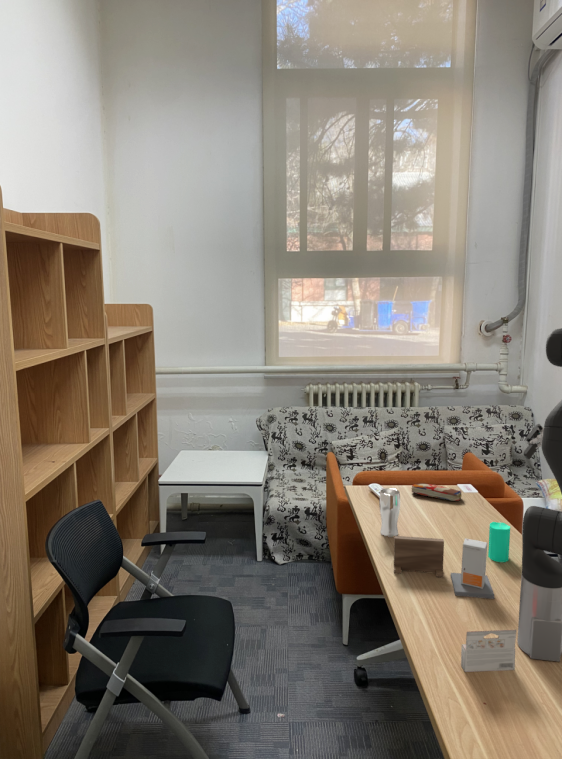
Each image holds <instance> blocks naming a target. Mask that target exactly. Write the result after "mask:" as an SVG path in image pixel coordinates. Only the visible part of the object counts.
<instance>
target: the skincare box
mask: <svg viewBox="0 0 562 759" xmlns="http://www.w3.org/2000/svg"><path fill="white" fill-rule="evenodd" d="M463 540H464V541H463V544H462V552H461V553H462V556H461V584H465V585H469V586H473V587H477V588H481V589H483V587H484V583H485V575H486V573H487V572H486V571H487V570H486V569H487V557H488V554H487V552H488V542H486V541H481V540H477V539H470V538H466V537H465V538H464V539H463Z"/></svg>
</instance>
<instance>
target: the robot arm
mask: <svg viewBox="0 0 562 759" xmlns="http://www.w3.org/2000/svg"><path fill="white" fill-rule="evenodd" d="M545 354H546V358H547V360H548V362H549V363H550V364H551V365H553V366H554V367H560V368H562V328H557V329H553V330H551V331H550V333H549V334H548V336H547V338H546V342H545ZM525 441H526V442H527V443H528V445H527V446H526V448H525V450H524V451H523V456H524V458H526V459H527V460H530V459H531V458H532V457H533V455H534V454H535V453H536V451H537V450H538V448H540V447H541V451H542V454H543V457H544V459H545V461H546V463H547V465H548V467H549V469H550V470H551V472H552V474H553V476H554V479H555V480H556V483H557V486H558V488H559V491H560V493H561V495H562V399H560V401H559V402H558V403H557V404H556V406H554V408H552V409H551V411H550V412H549V413H548V415H547V416H546V418H545V421H544V426H542V425H541V424H540V423H537V424H536V425H535V426H534V427H533V428H532V429H531V431H529V433H528V434H527V436H526V437H525ZM521 527H522V529H521V532H522V533H521V536H522V538H521V539H522V540H521V541H522V543H521V544H522V550H521V551H522V554H521V556H522V557H521V577H520V578H521V579H520V591H519V608H518V610H519V611H518V624H517V625H518V626H517V627H518V628H517V639H516V640H517V646H518V648H520V649H521V650H522V651H523V652H524V653H525V654H527V655H528V656H529V657H530V659H533V660H542V661H550V662H553V661H554V662H561V657H562V563H560V562H559V561H558V560H556V559H554V558H553V557H551V556H550V555H549V554H547V553H552V554H554V555H555V554H556V555H560V556H562V511H561V510H557V509H551V508H548V507H541V506H536V505H530V506H528V507H527V509H526V510H525V512H524V515H523V518H522V526H521ZM546 552H547V553H546Z"/></svg>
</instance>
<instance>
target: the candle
mask: <svg viewBox="0 0 562 759" xmlns="http://www.w3.org/2000/svg"><path fill="white" fill-rule="evenodd" d="M510 537H511V525H508V524H507V523H505V522H497V521H492V522H490V523H489V532H488V548H487V552H488V554H487V557H488V559H490V560H491V561H493V562H497V563H506V562H508V561H509V560H510V542H511V541H510V540H511V538H510Z"/></svg>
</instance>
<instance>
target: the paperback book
mask: <svg viewBox="0 0 562 759" xmlns="http://www.w3.org/2000/svg"><path fill="white" fill-rule="evenodd" d="M411 492H412V493H414V494H418V495H421V496H423V497H427V496H428V498H433V497H436V498H435V499H439V498H440V499H439V500H445V499H446V501H447V500H448V501H456V502H457V501H461V498H462V490H457V489H454V488H452V487H446V486H441V485H438V484H437V485H436V484H430V483H429V484H428V483H415V484H412V485H411Z"/></svg>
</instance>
